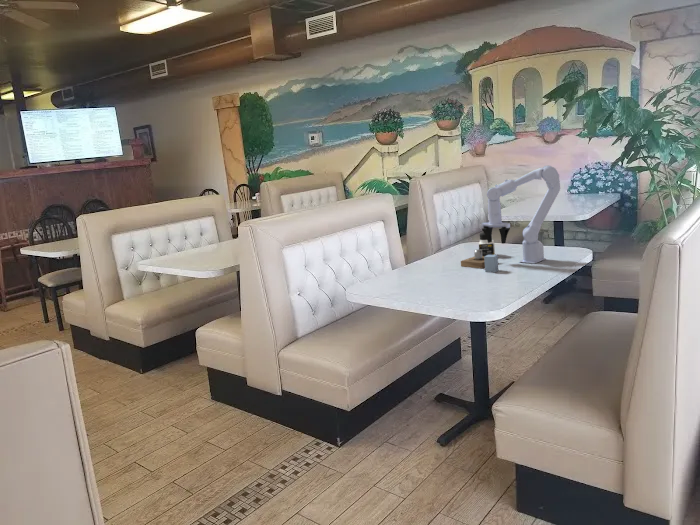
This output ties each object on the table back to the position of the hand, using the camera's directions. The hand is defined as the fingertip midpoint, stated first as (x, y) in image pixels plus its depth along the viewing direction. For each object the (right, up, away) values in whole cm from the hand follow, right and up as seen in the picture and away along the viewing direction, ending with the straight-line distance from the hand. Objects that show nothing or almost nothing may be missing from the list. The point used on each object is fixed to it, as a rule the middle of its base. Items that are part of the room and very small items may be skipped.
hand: (496, 242), depth 260 cm
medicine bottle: (+1, -6, +21) cm, 22 cm away
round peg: (-7, -10, +4) cm, 13 cm away
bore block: (-7, -10, +4) cm, 13 cm away
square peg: (-5, -13, -11) cm, 17 cm away
